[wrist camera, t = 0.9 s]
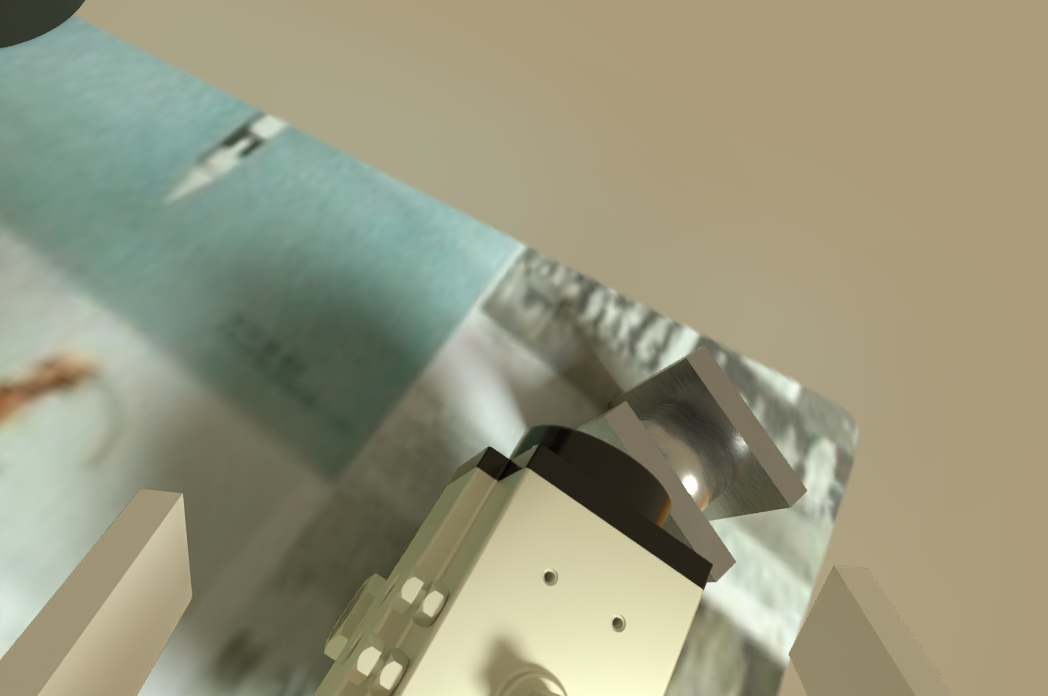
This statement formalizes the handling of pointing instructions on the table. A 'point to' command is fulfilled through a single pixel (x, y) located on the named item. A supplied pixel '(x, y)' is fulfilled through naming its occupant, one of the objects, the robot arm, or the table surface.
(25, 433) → the table surface
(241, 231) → the table surface
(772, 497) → the flanged fitting
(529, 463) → the ball valve
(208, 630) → the table surface
